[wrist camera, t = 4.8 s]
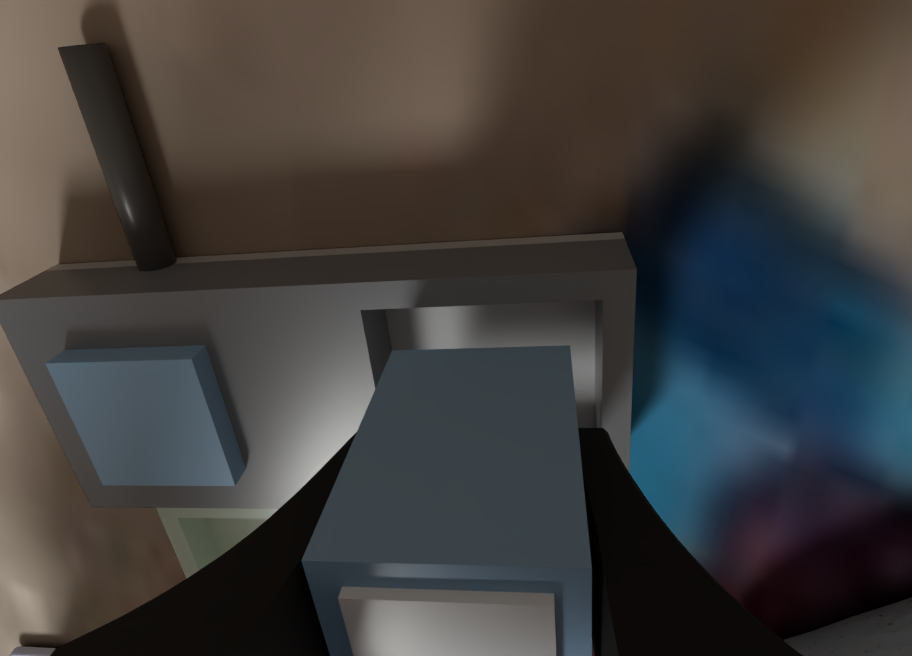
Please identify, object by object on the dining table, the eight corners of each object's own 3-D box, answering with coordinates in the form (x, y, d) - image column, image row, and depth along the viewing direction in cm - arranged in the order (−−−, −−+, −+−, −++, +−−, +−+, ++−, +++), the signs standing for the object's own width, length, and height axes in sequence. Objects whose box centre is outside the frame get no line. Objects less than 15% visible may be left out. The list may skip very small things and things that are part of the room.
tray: (409, 610, 23) (399, 654, 21) (236, 604, 24) (215, 646, 22) (380, 465, 20) (366, 505, 18) (183, 466, 21) (153, 503, 19)
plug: (572, 485, 15) (592, 758, 9) (414, 485, 16) (348, 740, 10) (569, 345, 13) (593, 580, 8) (392, 350, 14) (296, 572, 8)
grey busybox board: (616, 452, 18) (631, 532, 15) (138, 454, 21) (75, 524, 18) (628, -19, 13) (655, -28, 10) (-31, 59, 15) (-160, 69, 12)
